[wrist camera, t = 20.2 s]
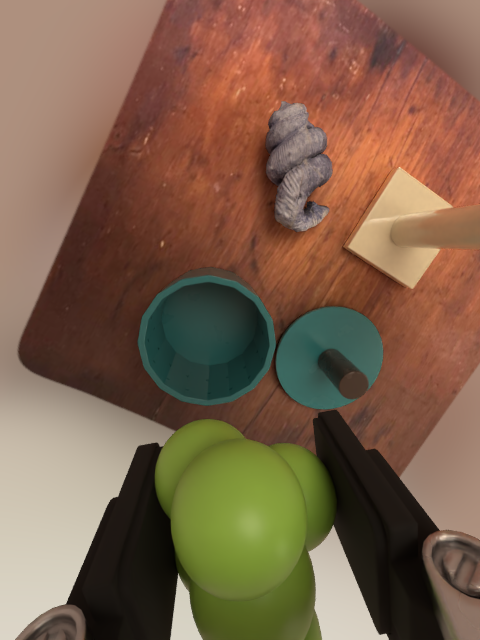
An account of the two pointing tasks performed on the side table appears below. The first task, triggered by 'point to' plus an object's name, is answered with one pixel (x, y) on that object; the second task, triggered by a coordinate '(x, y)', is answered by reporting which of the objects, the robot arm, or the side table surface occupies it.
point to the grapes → (245, 530)
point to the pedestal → (411, 229)
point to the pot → (207, 337)
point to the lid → (329, 357)
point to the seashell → (296, 166)
